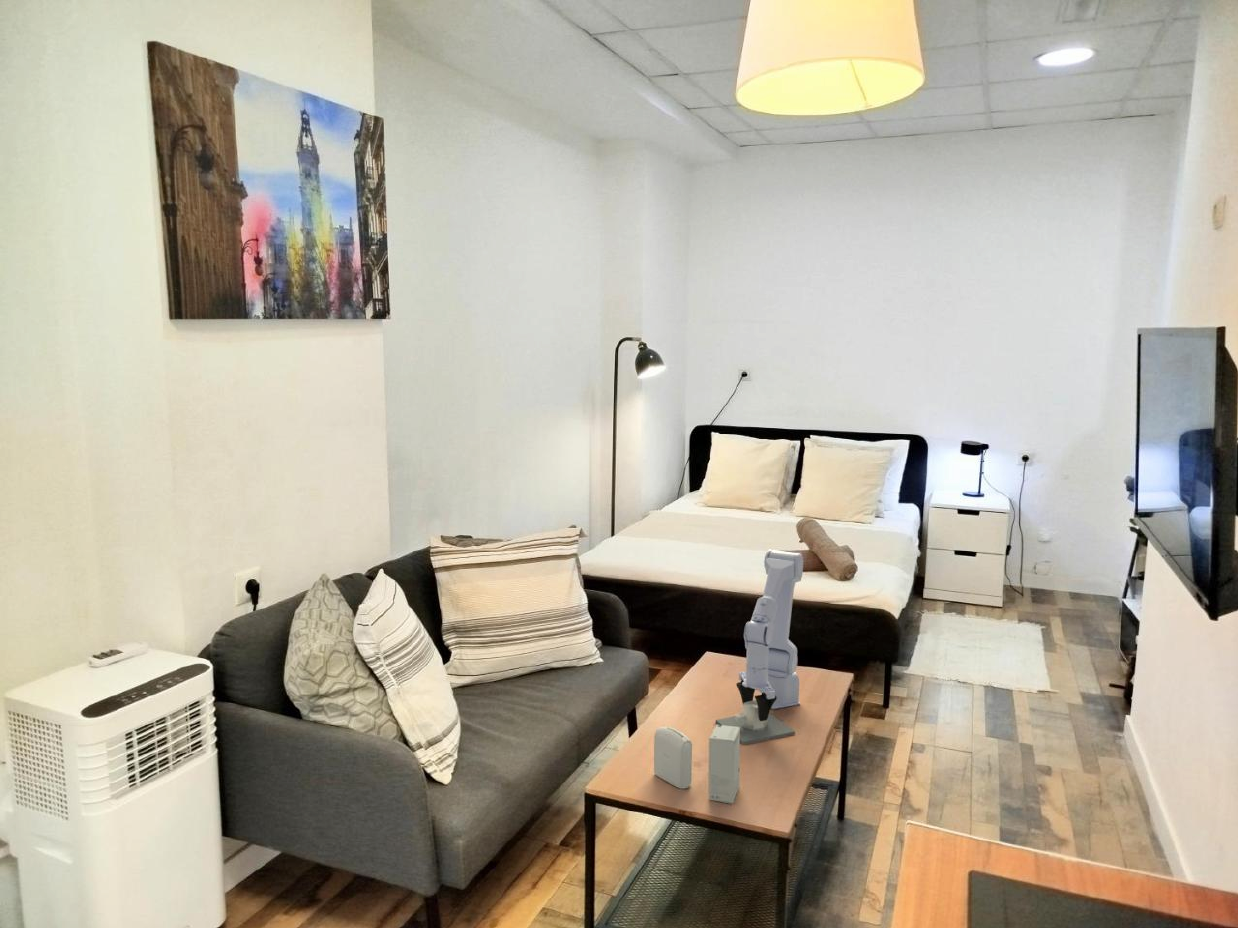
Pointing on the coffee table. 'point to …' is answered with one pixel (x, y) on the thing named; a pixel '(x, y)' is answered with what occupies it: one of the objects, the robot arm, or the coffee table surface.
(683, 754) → the photo printer
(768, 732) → the mat
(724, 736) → the skincare box
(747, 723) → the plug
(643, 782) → the coffee table surface
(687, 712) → the coffee table surface
